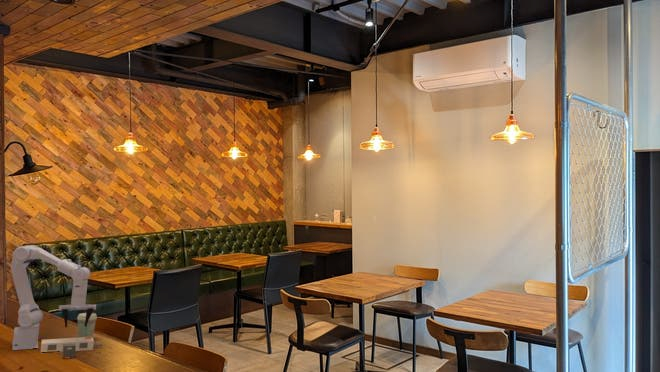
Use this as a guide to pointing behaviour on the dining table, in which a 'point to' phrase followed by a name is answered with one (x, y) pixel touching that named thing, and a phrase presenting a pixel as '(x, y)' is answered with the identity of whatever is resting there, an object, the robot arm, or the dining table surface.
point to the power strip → (57, 344)
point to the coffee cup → (89, 328)
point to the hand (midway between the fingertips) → (75, 326)
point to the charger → (69, 350)
